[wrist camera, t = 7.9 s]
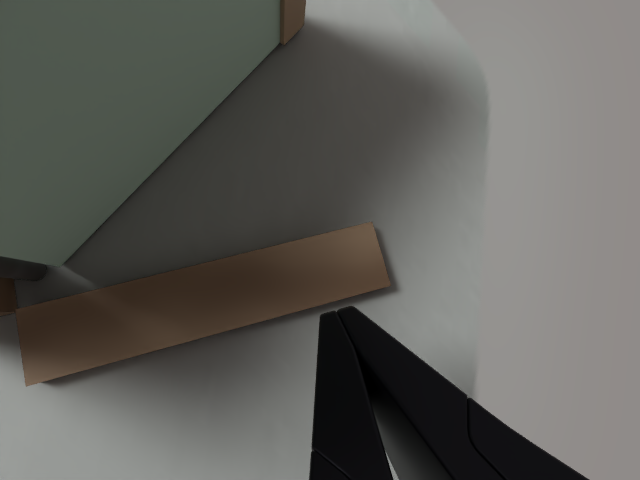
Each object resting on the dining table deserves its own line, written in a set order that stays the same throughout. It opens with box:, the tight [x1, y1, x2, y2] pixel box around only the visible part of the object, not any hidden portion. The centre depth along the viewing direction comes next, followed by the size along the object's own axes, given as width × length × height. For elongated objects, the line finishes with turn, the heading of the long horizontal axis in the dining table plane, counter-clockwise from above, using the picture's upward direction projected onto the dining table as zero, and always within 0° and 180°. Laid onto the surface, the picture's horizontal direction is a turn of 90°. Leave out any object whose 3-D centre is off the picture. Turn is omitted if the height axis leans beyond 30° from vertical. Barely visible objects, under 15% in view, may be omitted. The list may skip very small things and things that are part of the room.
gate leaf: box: [0, 0, 306, 267], centre depth 12 cm, size 16×2×11 cm, turn 142°
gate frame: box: [0, 222, 391, 386], centre depth 9 cm, size 6×18×14 cm, turn 105°
